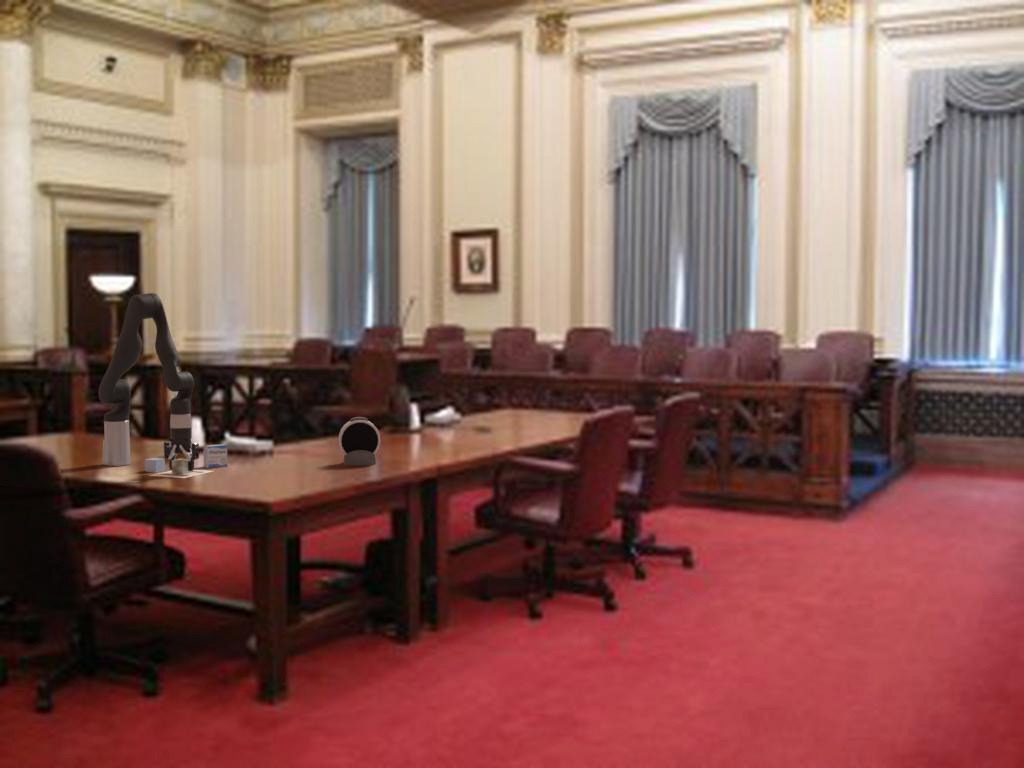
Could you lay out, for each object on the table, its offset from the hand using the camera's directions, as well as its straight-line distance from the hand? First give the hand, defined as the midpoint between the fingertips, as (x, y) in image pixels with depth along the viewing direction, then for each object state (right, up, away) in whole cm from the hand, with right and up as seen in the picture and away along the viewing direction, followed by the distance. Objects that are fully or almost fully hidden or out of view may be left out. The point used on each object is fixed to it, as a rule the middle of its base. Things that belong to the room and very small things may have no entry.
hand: (181, 470), depth 430 cm
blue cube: (-12, -1, +6) cm, 13 cm away
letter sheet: (0, -1, 0) cm, 1 cm away
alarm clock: (+62, 0, +28) cm, 68 cm away
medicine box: (+8, 0, +17) cm, 19 cm away
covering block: (0, -1, 0) cm, 1 cm away
